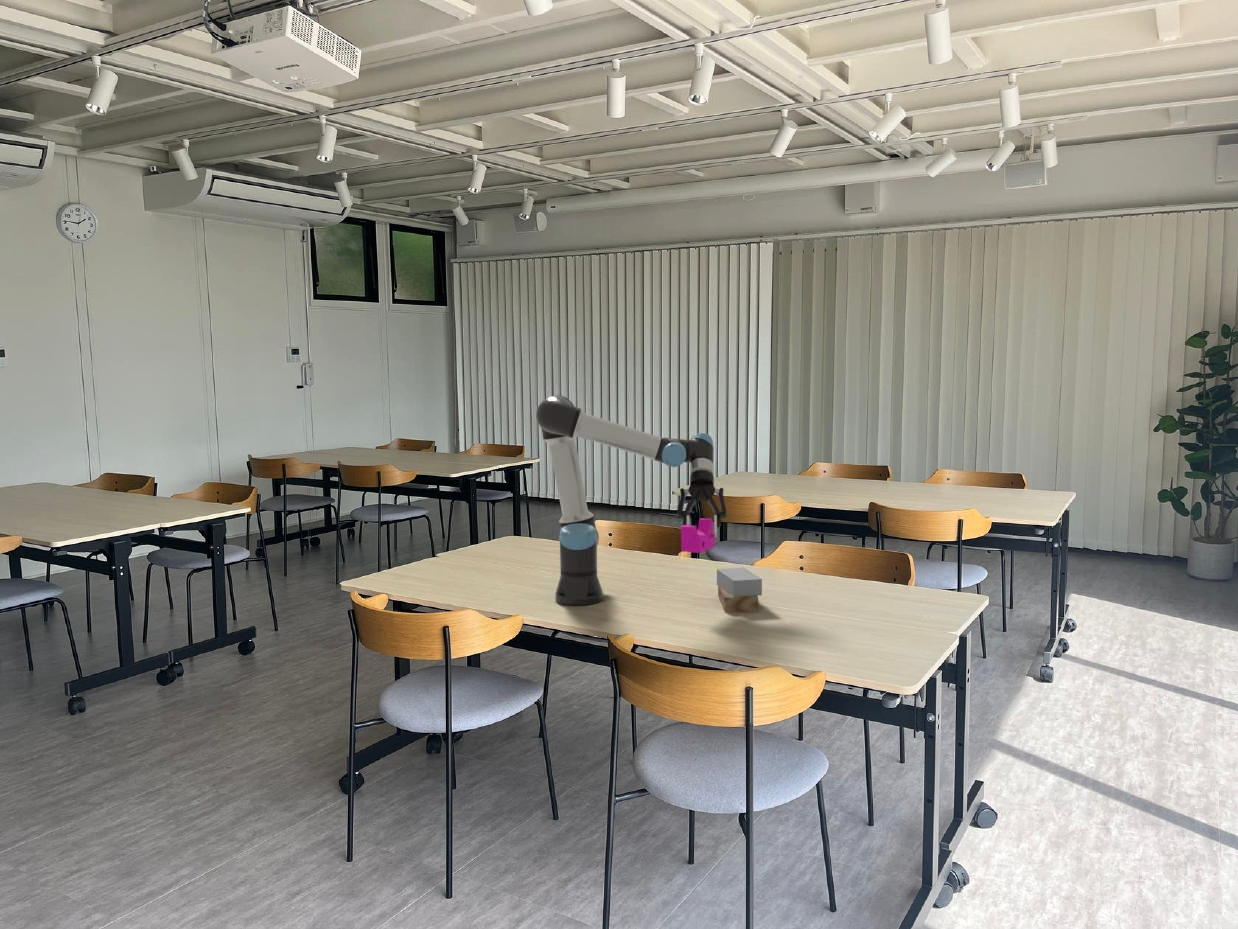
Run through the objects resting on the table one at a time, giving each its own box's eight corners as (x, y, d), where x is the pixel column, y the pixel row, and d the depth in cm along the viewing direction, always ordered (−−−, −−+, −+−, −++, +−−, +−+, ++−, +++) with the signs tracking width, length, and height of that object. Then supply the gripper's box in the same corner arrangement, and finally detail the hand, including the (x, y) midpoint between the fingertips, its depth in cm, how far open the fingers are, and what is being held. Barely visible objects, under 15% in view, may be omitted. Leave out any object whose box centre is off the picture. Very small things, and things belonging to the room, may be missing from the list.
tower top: (733, 597, 273) (733, 580, 273) (716, 584, 289) (716, 569, 288) (761, 595, 275) (761, 579, 275) (743, 582, 291) (743, 567, 290)
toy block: (700, 553, 270) (700, 528, 269) (681, 551, 273) (680, 526, 272) (720, 543, 283) (720, 519, 282) (702, 541, 286) (701, 518, 285)
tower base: (724, 614, 274) (724, 597, 273) (718, 598, 291) (718, 583, 291) (758, 613, 274) (758, 597, 273) (749, 598, 291) (749, 582, 291)
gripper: (734, 482, 294) (735, 541, 280) (670, 483, 296) (668, 542, 282) (734, 467, 288) (735, 527, 274) (669, 469, 290) (667, 528, 276)
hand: (701, 535), depth 278 cm, fingers closed on toy block, 8 cm apart
